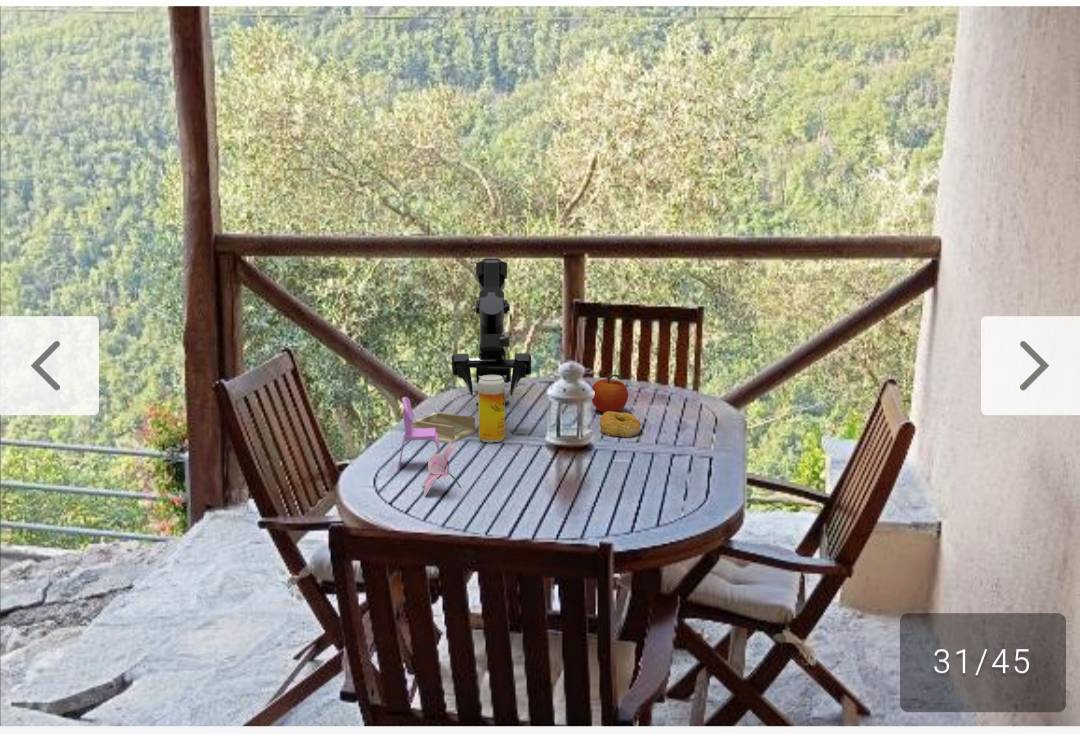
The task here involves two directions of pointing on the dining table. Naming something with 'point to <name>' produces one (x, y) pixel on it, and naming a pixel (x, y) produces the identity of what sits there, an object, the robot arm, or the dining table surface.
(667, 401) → the dining table surface
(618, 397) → the fruit
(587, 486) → the dining table surface
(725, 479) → the dining table surface
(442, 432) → the gold tray
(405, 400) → the toy chair
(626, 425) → the bagel
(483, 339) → the robot arm
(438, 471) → the lily
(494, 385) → the beer can
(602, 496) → the dining table surface
